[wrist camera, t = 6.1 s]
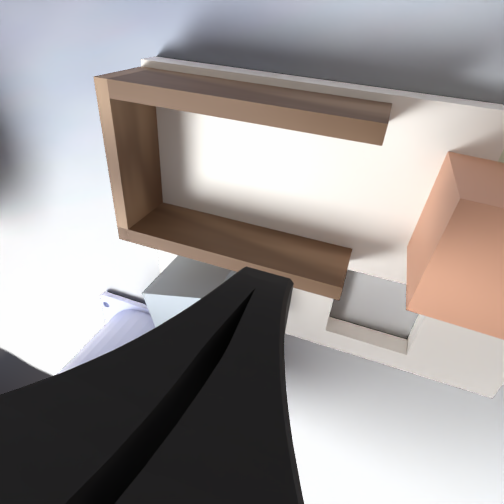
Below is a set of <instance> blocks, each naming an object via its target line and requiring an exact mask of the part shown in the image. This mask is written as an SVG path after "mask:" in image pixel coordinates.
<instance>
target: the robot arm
mask: <svg viewBox="0 0 504 504" xmlns="http://www.w3.org/2000/svg"><path fill="white" fill-rule="evenodd" d="M293 285H294V283H293V282H292V280H291V279H290V278H287V277H283V276H279V275H276V274H272V273H268V272H265V271H261V270H258V269H254V268H250V267H247V266H246V267H244V268H242V269H241V270H239V271H238V272H237V273H235V274H234V275H233V276H231V277H230V278H229V279H228V280H226V281H225V282H224V283H222V284H221V285H219V286H218V287H217V288H215V289H214V290H213V291H211V292H210V293H208V294H207V295H206V296H204V297H203V298H201V299H200V300H198V301H197V302H195V303H194V304H192V305H191V306H189V307H188V308H186V309H185V310H183V311H182V312H180V313H179V314H177V315H175V316H174V317H172V318H170V319H169V320H167V321H166V322H164V323H162V324H161V325H159V326H157V327H155V325H154V322H153V320H152V317H151V315H150V312H149V310H148V307H147V305H146V304H143V303H140V302H136V301H133V300H130V299H127V298H124V297H121V296H118V295H115V294H112V293H109V292H103V293H102V294H101V295H100V299H101V304H102V309H103V313H104V318H105V322H106V324H105V325H104V326H103V327H102V328H101V330H100V331H99V332H98V333H97V334H96V335H95V336H94V337H93V338H92V339H91V340H90V341H89V342H88V343H87V344H86V345H85V346H84V347H83V348H82V349H81V350H80V351H79V352H78V353H77V354H76V355H75V356H74V357H73V358H72V359H71V360H70V361H69V363H68V364H67V365H66V366H65V367H64V368H63V369H62V370H61V371H60V372H59V373H58V374H57V375H54V376H52V377H49V378H46V379H44V380H41V381H38V382H36V383H33V384H30V385H27V386H25V387H22V388H19V389H16V390H13V391H10V392H7V393H4V394H1V395H0V504H304V501H303V497H302V491H301V486H300V480H299V475H298V469H297V464H296V458H295V453H294V447H293V441H292V435H291V427H290V420H289V412H288V403H287V394H286V381H285V362H284V334H285V330H286V324H287V319H288V313H289V307H290V302H291V296H292V291H293Z"/></svg>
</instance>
